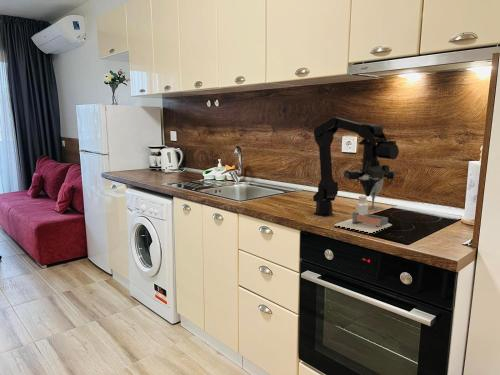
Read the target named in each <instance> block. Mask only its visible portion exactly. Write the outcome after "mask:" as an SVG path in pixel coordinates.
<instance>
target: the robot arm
mask: <svg viewBox="0 0 500 375" xmlns="http://www.w3.org/2000/svg"><path fill="white" fill-rule="evenodd" d="M340 129H342V130H345V131H349V132H351V133H355V134H357V135H358V136H359V137H360V138H362V140H361V141H359V142H358V145H360V146H363V148H362V149H363V150H362V158H360V162H362V164H361V168H360V169H359V170H360V172H359V171H357V170H355V169H354V170H351V169H348V170H347V169H346V170H345V171H344V172H343V178H344V179H348V180H358V181H359V182H360V183H361V186H362V189H363V191H364V196H366V197H370V196H371V194H370V193H371V191H372V189H373V187H374V185H375V183H377V182H378V181H380V180H379V178H380V179H382V178H383V179H384V178H386V180H395V173H394V171H391V170H390V166H389V165H386V164H385V165H381V163H380V162H381V161H380V160H379V159H385V160H396V159H397V157H398V156H399V152H400V150H399V147H398V145H397V141H396V140H388V139H387V137H386V135H385V133H384V131H383V128H382V125H380V124H372V123H371V124H369V123H360V122H357V121H354V120H350V119H346V118H342V117H339V116H333V117H330V119H328V120H327V121H326V122H323V123H321V124H320V125H317V126H316V127H315V129H314V131H313V136H314V141H315V143H316V144H317V146H318V152H319V166H320V168H319V169H320V181H319V182H318V185H317V186H318V188H317V192H316V193H314V195H313V196H312V198H313V201H314V202H315V204H316V205H315V212H313V214H314V215H318V216H322V217H328V216H331V215H332V216H333V215H334V213H333V204H332V202H335V199H336V197H337V195H338V192H339V182H338V181H335V180H334V178H333V166H332V164H333V163H332V151H331V147H332V146H331V145H332V143H333V141H334V135H335V134H336V133H337V132H338V131H339V130H340ZM368 177H369V178H368Z"/></svg>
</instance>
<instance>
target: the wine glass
mask: <svg viewBox="0 0 500 375" xmlns="http://www.w3.org/2000/svg"><path fill="white" fill-rule="evenodd" d="M368 178H369V177H368ZM379 180H380V181H378V182H377V183H375V185H374V187H373V189H372V191H371V193H370V196H371V201H372V202H371V206H368V211H380V210H381V208H379V207H376V206H375V205H374V204H375V199H376V196H377V195H378V194H379V193H380V192H381V191H382V189H383V187H384V186H383V185H384V177H383V178H382V179H380V178H379Z"/></svg>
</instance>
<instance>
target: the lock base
mask: <svg viewBox="0 0 500 375" xmlns="http://www.w3.org/2000/svg"><path fill="white" fill-rule="evenodd" d="M364 216H369V217H374V218H379V219H381V221H380V226H377V225H372V224H368V223H363V222H358V224H353V223H352V218H349V219H346V220H343V221H339V222H337V223H334V227H338V226H340V227H339V228H342V227H345V228H344V229H347V228H350V229H349V230H351V229H355V230H359V231H358V232H360V231H364V232H368V233H367V234H369V233H373V232H375V233H377V232H376V231H378V232H380V231H382V230H381V229H383V230H385V229H388V228H389V227H392V226H393V224H391V223H389V217H386V216H380V215H375V214H371V213H368V214H366V215H364ZM384 228H385V229H384ZM355 230H354V231H355ZM379 230H380V231H379ZM364 232H363V233H364ZM373 234H374V233H373Z"/></svg>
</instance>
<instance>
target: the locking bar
mask: <svg viewBox="0 0 500 375" xmlns="http://www.w3.org/2000/svg"><path fill="white" fill-rule="evenodd" d="M351 216H352V218H351V219H352V223H353V224H358V222H363V223H368V224H372V225H377V226H380V221H381V219H379V218H374V217H369V216H364V215H359V213H358V212H356V211H353V212H352V215H351Z"/></svg>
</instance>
